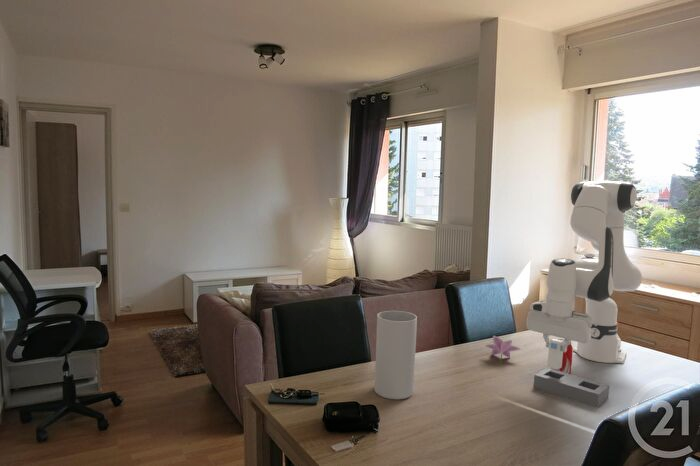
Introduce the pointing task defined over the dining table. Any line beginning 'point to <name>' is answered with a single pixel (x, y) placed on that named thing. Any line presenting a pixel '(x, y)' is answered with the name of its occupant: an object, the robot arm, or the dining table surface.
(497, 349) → the lily
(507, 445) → the dining table surface
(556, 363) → the plug
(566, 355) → the soda can
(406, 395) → the cylinder vase
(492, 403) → the dining table surface
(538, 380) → the socket block
